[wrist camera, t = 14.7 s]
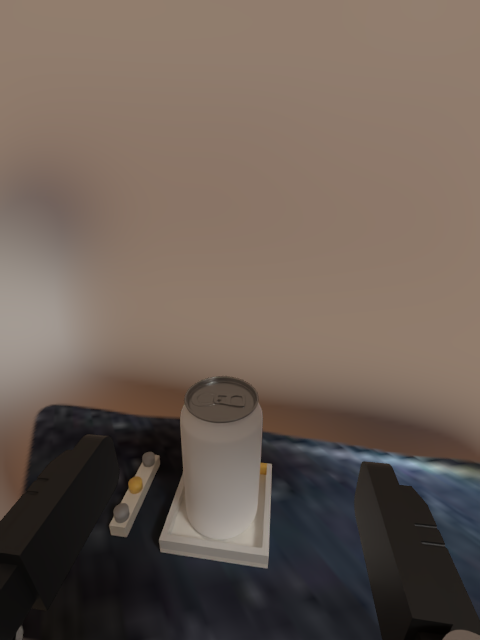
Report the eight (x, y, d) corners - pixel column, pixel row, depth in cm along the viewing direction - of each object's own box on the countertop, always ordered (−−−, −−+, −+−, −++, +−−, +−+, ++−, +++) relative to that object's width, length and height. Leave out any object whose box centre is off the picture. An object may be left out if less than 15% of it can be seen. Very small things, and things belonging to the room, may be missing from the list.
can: (194, 472, 31) (189, 371, 26) (258, 477, 30) (264, 375, 26) (177, 539, 25) (167, 422, 20) (256, 546, 24) (264, 429, 20)
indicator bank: (160, 463, 32) (158, 449, 32) (126, 537, 25) (123, 521, 25) (147, 462, 33) (145, 448, 32) (111, 535, 26) (107, 518, 25)
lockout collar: (271, 474, 31) (272, 464, 31) (267, 568, 23) (268, 556, 23) (190, 465, 32) (189, 454, 32) (160, 552, 24) (158, 539, 24)
